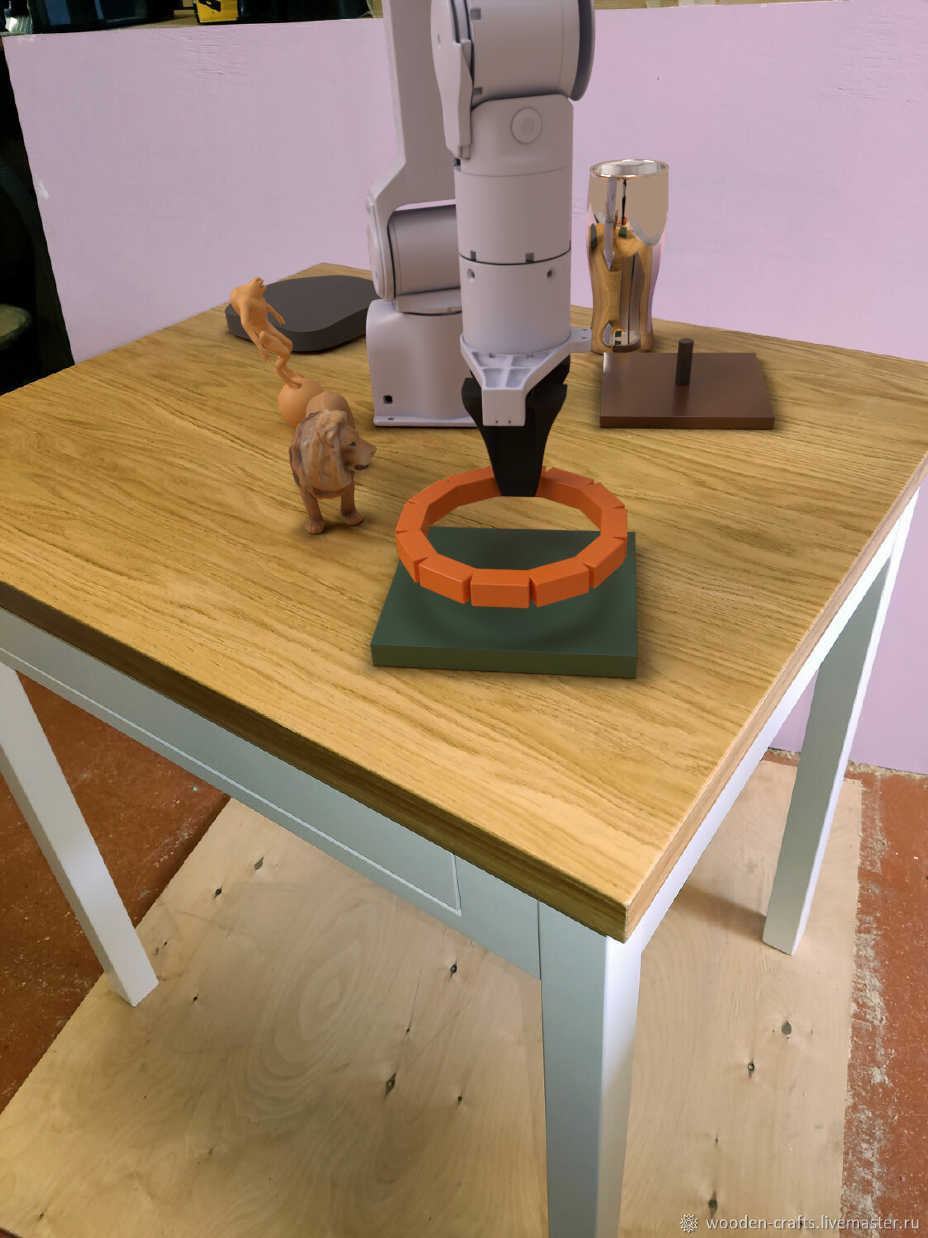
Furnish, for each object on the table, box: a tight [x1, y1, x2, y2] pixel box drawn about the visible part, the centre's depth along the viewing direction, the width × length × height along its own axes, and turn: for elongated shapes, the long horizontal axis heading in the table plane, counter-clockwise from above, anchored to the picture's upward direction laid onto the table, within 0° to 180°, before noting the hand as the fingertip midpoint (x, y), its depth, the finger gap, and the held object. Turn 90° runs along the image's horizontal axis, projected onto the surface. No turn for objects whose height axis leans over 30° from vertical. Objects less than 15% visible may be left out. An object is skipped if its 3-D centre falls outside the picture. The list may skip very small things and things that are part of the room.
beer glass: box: [584, 158, 670, 355], centre depth 80 cm, size 7×7×15 cm
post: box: [599, 337, 776, 430], centre depth 73 cm, size 13×13×4 cm
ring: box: [394, 465, 628, 608], centre depth 50 cm, size 12×12×1 cm
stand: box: [369, 525, 639, 679], centre depth 52 cm, size 14×12×2 cm
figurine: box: [229, 276, 326, 429], centre depth 70 cm, size 8×6×12 cm
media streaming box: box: [224, 274, 383, 352], centre depth 92 cm, size 15×15×3 cm
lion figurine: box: [288, 390, 378, 535], centre depth 61 cm, size 15×5×9 cm, turn 13°
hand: (519, 486), depth 54 cm, fingers closed on ring, 1 cm apart
